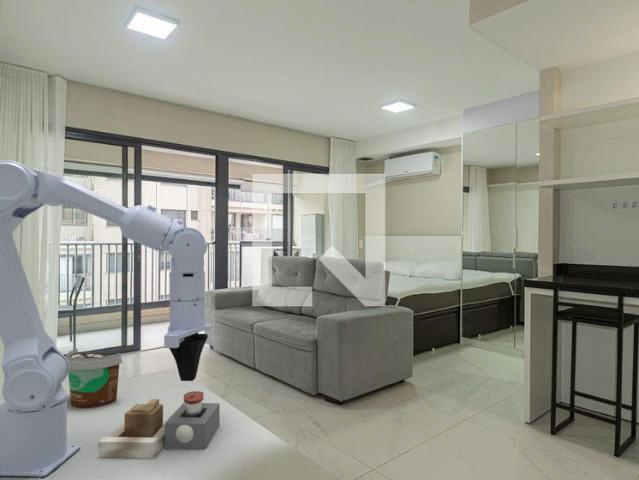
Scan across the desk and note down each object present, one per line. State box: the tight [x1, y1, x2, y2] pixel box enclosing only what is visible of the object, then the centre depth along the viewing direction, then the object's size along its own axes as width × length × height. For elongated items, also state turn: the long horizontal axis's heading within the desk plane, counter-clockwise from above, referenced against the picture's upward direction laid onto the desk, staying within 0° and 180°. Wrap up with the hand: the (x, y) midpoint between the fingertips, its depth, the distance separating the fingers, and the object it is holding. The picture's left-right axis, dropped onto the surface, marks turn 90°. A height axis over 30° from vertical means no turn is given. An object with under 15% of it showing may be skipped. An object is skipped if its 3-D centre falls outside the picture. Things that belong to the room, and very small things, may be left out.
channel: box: [97, 398, 185, 459], centre depth 70 cm, size 9×18×2 cm, turn 178°
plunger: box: [183, 390, 205, 418], centre depth 68 cm, size 3×3×5 cm
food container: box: [65, 348, 123, 409], centre depth 81 cm, size 12×6×10 cm, turn 73°
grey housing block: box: [164, 402, 221, 450], centre depth 68 cm, size 6×8×4 cm
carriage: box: [124, 403, 164, 438], centre depth 67 cm, size 5×4×5 cm
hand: (188, 379), depth 68 cm, fingers closed
